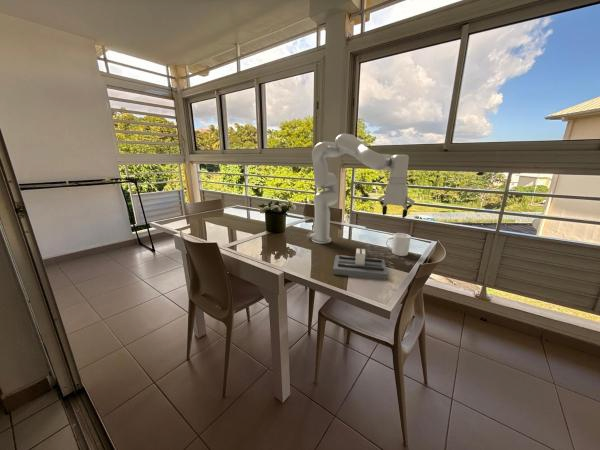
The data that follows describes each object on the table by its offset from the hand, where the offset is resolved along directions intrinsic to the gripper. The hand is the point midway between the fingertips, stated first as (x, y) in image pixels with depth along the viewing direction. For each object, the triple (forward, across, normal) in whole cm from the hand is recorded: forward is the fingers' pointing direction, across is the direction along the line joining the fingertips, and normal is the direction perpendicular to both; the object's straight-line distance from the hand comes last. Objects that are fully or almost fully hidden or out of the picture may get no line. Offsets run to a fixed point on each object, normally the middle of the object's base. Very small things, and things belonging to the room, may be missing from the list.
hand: (394, 215), depth 120 cm
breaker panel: (+24, -7, -20) cm, 32 cm away
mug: (+24, -1, +13) cm, 27 cm away
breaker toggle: (+20, -7, -20) cm, 30 cm away
